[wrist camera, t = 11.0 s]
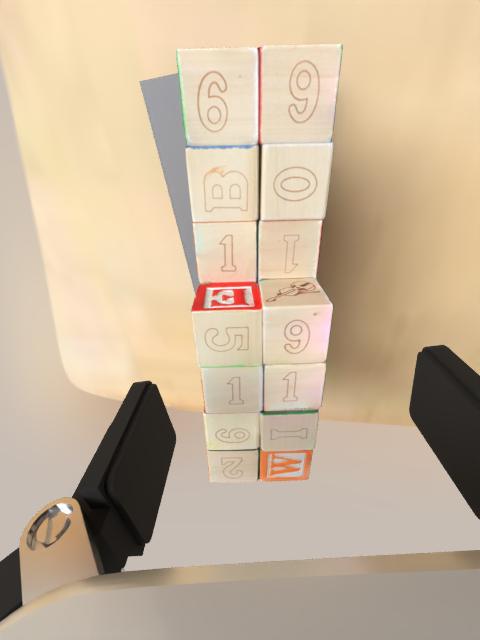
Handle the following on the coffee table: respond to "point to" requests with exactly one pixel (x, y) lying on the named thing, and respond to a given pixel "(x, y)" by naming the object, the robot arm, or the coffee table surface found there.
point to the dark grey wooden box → (172, 155)
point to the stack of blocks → (260, 248)
